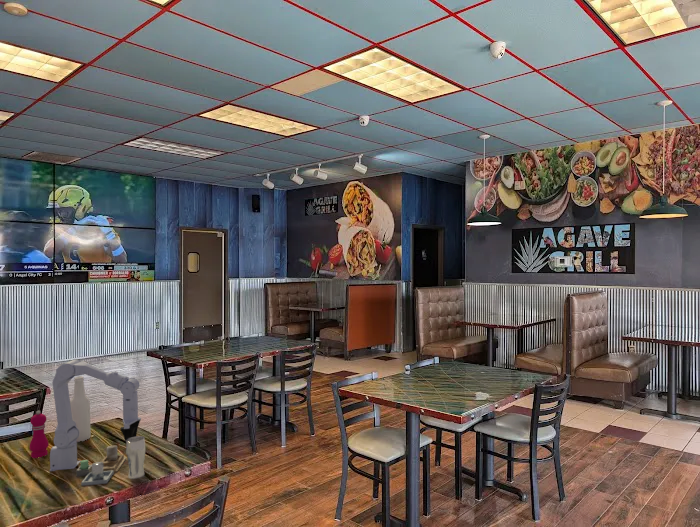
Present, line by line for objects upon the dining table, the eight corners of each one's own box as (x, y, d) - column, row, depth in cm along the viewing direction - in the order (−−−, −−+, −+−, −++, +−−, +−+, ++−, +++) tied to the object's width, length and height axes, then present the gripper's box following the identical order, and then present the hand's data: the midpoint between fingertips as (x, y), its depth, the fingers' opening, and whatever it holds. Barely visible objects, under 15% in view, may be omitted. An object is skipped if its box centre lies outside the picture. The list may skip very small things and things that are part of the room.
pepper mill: (25, 457, 220) (24, 412, 220) (41, 451, 227) (40, 407, 226) (37, 459, 217) (36, 413, 217) (52, 453, 224) (51, 409, 224)
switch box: (76, 477, 198) (76, 470, 198) (80, 473, 203) (80, 465, 203) (89, 476, 199) (88, 469, 199) (92, 472, 203) (92, 464, 203)
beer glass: (134, 482, 193) (133, 443, 193) (123, 478, 197) (122, 440, 197) (149, 475, 199) (148, 437, 199) (138, 471, 203) (137, 434, 203)
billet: (90, 482, 193) (90, 466, 193) (94, 477, 197) (93, 462, 197) (101, 481, 193) (101, 465, 193) (105, 476, 197) (104, 461, 197)
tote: (81, 487, 190) (81, 482, 190) (89, 477, 199) (89, 472, 199) (106, 484, 191) (106, 480, 191) (113, 474, 200) (113, 470, 200)
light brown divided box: (92, 475, 200) (92, 457, 200) (103, 461, 214) (103, 445, 214) (117, 473, 201) (116, 455, 201) (126, 459, 215) (125, 443, 215)
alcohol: (73, 437, 245) (71, 375, 245) (92, 435, 247) (91, 374, 247) (67, 443, 236) (65, 379, 236) (87, 441, 238) (86, 378, 238)
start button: (79, 473, 199) (79, 463, 199) (82, 470, 202) (81, 460, 202) (87, 472, 200) (87, 462, 200) (89, 469, 202) (89, 459, 202)
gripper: (136, 412, 204) (137, 445, 204) (144, 402, 218) (144, 433, 219) (118, 413, 203) (118, 447, 203) (126, 403, 217) (127, 435, 217)
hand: (131, 440), depth 211 cm, fingers open, 7 cm apart
